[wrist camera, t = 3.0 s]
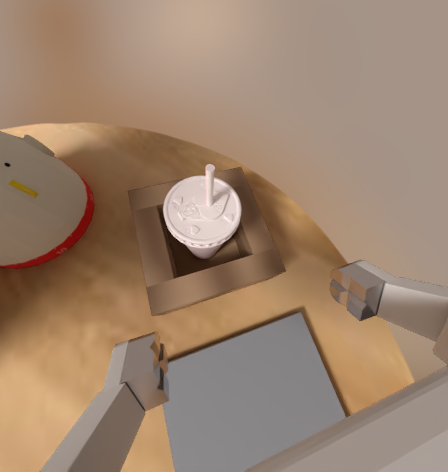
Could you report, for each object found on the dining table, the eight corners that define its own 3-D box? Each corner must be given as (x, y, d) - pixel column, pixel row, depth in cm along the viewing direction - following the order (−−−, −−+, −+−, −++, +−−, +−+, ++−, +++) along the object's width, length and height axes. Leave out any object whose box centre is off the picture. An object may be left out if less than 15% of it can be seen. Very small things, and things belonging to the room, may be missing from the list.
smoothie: (238, 254, 25) (274, 192, 12) (192, 279, 23) (174, 239, 10) (214, 214, 26) (222, 120, 13) (169, 234, 25) (129, 150, 12)
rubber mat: (191, 544, 16) (190, 559, 15) (158, 365, 20) (155, 368, 19) (355, 450, 19) (363, 458, 18) (297, 311, 23) (301, 312, 22)
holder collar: (163, 314, 22) (151, 315, 17) (142, 212, 26) (127, 191, 21) (270, 278, 24) (286, 270, 19) (235, 190, 28) (241, 166, 23)
